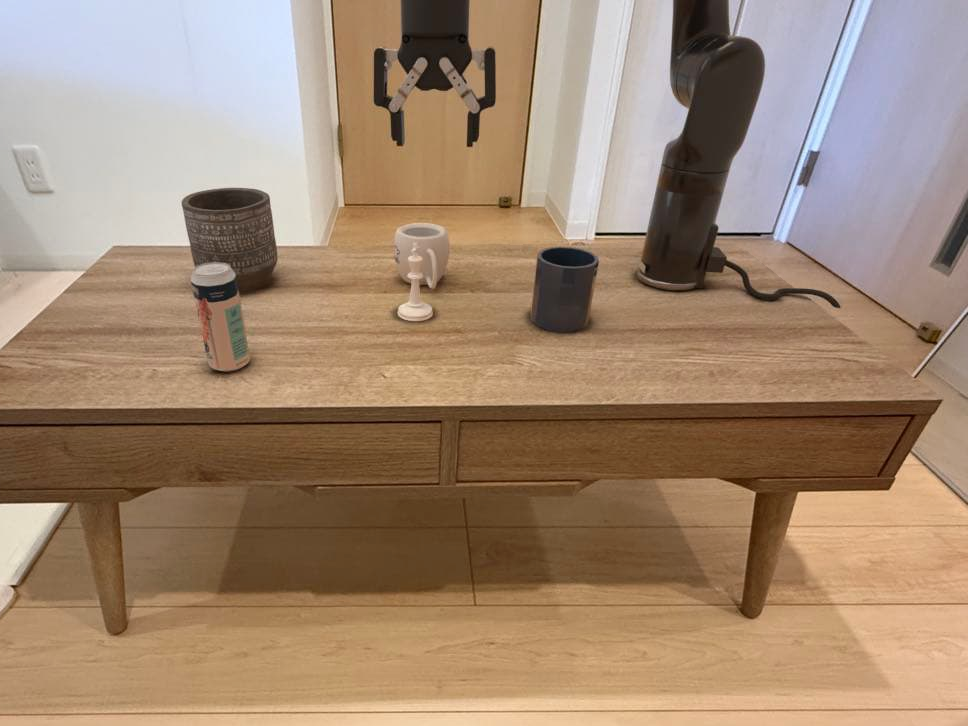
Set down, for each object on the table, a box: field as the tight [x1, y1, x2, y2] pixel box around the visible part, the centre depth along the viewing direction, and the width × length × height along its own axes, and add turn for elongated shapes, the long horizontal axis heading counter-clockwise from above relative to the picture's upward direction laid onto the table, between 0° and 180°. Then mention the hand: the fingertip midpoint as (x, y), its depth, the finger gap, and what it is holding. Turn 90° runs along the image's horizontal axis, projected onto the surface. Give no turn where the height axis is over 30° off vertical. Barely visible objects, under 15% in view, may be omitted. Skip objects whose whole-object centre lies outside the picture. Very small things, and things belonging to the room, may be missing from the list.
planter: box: [181, 187, 279, 294], centre depth 90 cm, size 12×12×13 cm
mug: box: [393, 222, 450, 290], centre depth 92 cm, size 12×8×8 cm
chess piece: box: [397, 243, 434, 322], centre depth 83 cm, size 5×5×10 cm
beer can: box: [189, 262, 251, 373], centre depth 70 cm, size 5×5×12 cm
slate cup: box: [530, 246, 600, 333], centre depth 82 cm, size 8×8×9 cm
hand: (434, 145), depth 75 cm, fingers open, 8 cm apart
